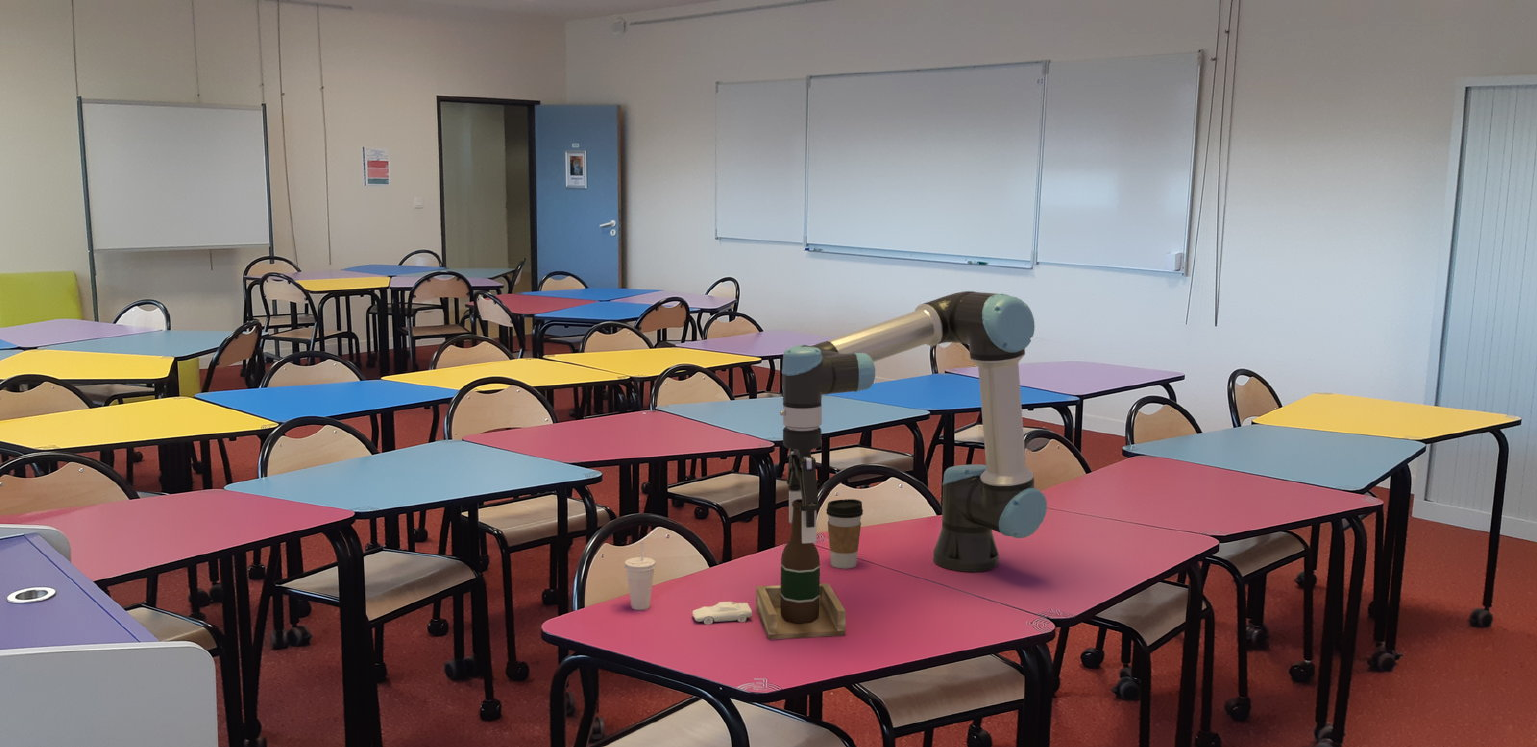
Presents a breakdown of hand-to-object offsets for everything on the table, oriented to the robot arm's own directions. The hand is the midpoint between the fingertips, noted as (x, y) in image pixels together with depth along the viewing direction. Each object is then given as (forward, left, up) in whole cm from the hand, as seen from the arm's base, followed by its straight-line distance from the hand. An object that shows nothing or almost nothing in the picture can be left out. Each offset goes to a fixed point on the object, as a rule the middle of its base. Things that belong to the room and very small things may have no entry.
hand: (802, 532), depth 216 cm
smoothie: (+31, -13, -19) cm, 39 cm away
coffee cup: (-17, -34, -19) cm, 42 cm away
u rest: (0, 0, -19) cm, 19 cm away
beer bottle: (0, 0, -18) cm, 18 cm away
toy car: (+15, -4, -19) cm, 25 cm away
